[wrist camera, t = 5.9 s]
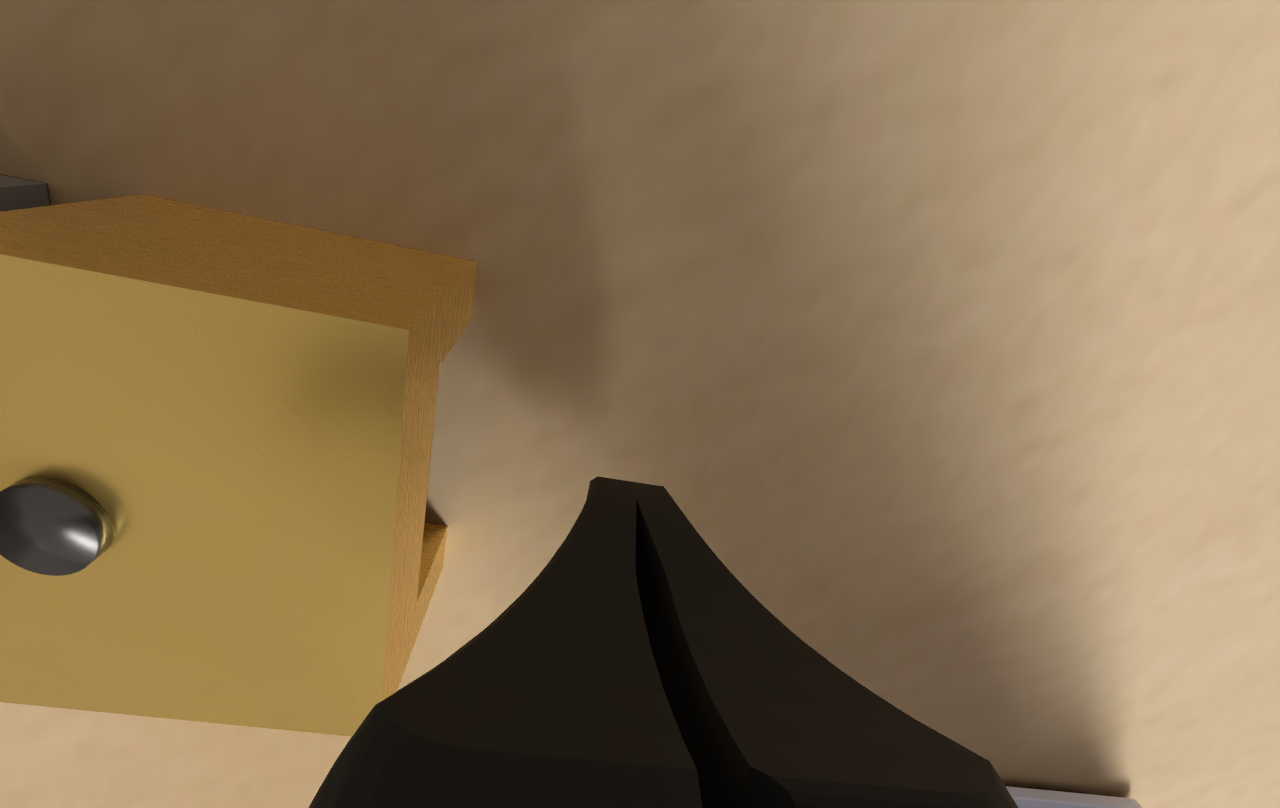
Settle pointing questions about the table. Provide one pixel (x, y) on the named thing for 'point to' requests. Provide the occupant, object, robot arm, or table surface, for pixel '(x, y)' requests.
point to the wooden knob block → (215, 462)
